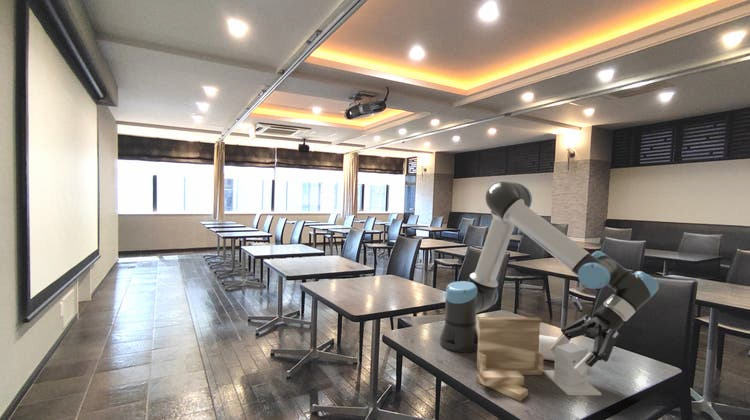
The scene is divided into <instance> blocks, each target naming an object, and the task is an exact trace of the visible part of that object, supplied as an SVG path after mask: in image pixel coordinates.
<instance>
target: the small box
mask: <svg viewBox="0 0 750 420" xmlns="http://www.w3.org/2000/svg"><path fill="white" fill-rule="evenodd" d="M588 351H589V348H586V347H584V346H581V345H579V344H578V343H574V342H572V341H571V343H567V344H562V345H558V346H555V361H554V366H553V367H554V368H553V370H554V379H555V380H557V381H559V382H561V383H563V384H565V385H567V386H569V387H571V386H574V385H577V384H581V383H584V382H586V381H587V380H588V379H587V376H588V375H587V374H588V369H587V370H586V371H585V372H584V373H583V374H582V375H580V374H579V373H578V372H577V371H576V370H575V368H574V367H575V366H576V365H577V364H578V363H579V362H580V361H581V360H582V359H583V358H584V357H585V356H586V355H587V354H588V353H589V352H588Z"/></svg>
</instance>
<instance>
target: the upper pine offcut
mask: <svg viewBox="0 0 750 420" xmlns="http://www.w3.org/2000/svg"><path fill="white" fill-rule="evenodd" d="M478 375H479V380H480V381H481V382H482V384H481V385H483V386H485V387H487V386H504V385H518V386H525V376H524V375H521V374H520V373H519V372H518V371H479V370H478Z"/></svg>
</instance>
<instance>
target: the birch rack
mask: <svg viewBox="0 0 750 420" xmlns="http://www.w3.org/2000/svg"><path fill="white" fill-rule="evenodd" d="M477 321H478V326H477V327H478V328H477V332H478V350H477V353H476V357H477V358H476V368H477V370H478V372H479V371H518V372H519V373H520V374H521V375H522V376H524V375H525V376H527V375H528V376H529V375H533V376H535V375H537V376H543V375H544V372H543V370H544V360H545V359H544V356H543V355H541V354H540V353H539V335H540V330H541V328H540V326H541V324H542V323H543V319H541V318H540V317H524V316H523V317H520V316H519V317H515V316H514V317H509V316H508V317H507V316H503V317H502V316H500V317H499V316H498V317H497V316H477Z"/></svg>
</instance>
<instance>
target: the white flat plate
mask: <svg viewBox="0 0 750 420" xmlns="http://www.w3.org/2000/svg"><path fill="white" fill-rule="evenodd" d="M543 374H545V376H547V377H548V378H549V379H550V380H551V381H552V382H553V384H555V385H556V386H557V387H559V389H561V391H563V393H565V394H566V395H567V396H602V392H600V391H599V390H598V389H597V388H596V387H594V386H593V385H592V384H590V383H589V382H588V381H587V380H586V382H584V383H581V384H577V385H574V386H571V387H569V386H567V385H565V384H563V383H561V382H559V381H557V380H555V379H554V369H550V370H549V369H543Z"/></svg>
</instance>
